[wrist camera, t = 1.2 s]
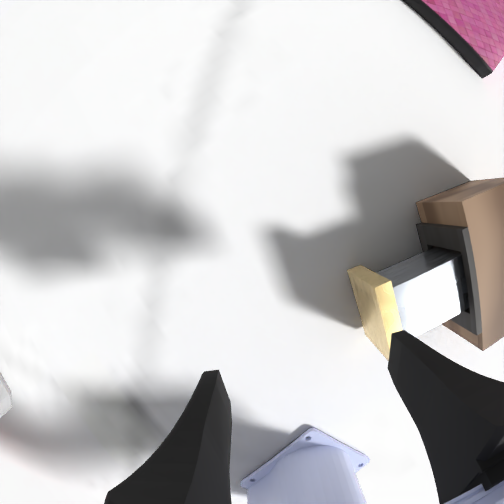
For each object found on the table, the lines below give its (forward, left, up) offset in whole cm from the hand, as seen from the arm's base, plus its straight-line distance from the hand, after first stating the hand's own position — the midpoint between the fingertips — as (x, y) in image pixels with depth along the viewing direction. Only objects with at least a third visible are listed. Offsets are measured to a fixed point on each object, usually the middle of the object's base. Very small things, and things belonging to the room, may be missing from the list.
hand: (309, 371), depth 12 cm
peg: (+7, -6, -9) cm, 13 cm away
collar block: (+12, -8, -9) cm, 17 cm away
